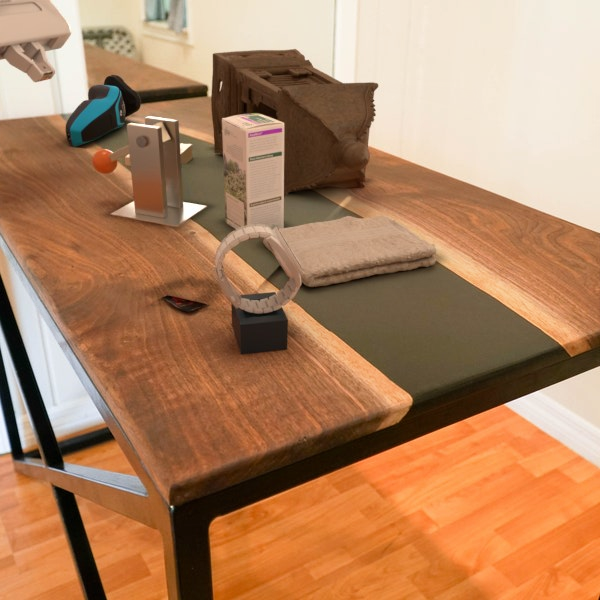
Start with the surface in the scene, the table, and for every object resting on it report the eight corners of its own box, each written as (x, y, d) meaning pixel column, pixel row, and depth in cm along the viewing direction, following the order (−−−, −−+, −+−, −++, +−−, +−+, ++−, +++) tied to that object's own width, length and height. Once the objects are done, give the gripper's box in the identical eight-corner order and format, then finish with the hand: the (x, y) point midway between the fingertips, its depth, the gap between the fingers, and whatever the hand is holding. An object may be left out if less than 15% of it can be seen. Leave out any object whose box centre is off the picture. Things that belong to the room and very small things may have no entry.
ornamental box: (400, 224, 96) (431, 94, 88) (293, 227, 87) (317, 84, 79) (292, 154, 122) (308, 50, 114) (202, 151, 114) (213, 39, 106)
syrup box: (285, 234, 84) (287, 120, 77) (245, 244, 81) (244, 126, 74) (261, 220, 88) (261, 111, 81) (223, 229, 85) (220, 116, 78)
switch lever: (95, 179, 87) (83, 157, 86) (109, 173, 90) (98, 151, 89) (161, 147, 81) (148, 123, 80) (174, 141, 84) (162, 117, 83)
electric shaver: (103, 114, 137) (149, 118, 136) (43, 159, 116) (96, 165, 115) (97, 71, 132) (145, 75, 131) (33, 111, 112) (88, 116, 110)
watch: (307, 346, 61) (312, 237, 56) (221, 356, 59) (217, 244, 54) (293, 317, 66) (296, 214, 61) (213, 325, 64) (209, 219, 59)
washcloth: (441, 266, 77) (445, 242, 76) (305, 294, 70) (306, 268, 69) (386, 230, 87) (389, 208, 85) (261, 251, 79) (261, 228, 78)
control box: (148, 154, 114) (146, 131, 112) (193, 157, 113) (191, 134, 111) (125, 171, 105) (123, 146, 103) (173, 175, 104) (172, 150, 102)
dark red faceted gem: (192, 315, 65) (192, 311, 65) (153, 302, 67) (152, 297, 67) (220, 297, 69) (220, 293, 69) (182, 284, 71) (182, 280, 71)
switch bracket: (111, 222, 86) (99, 124, 80) (144, 203, 93) (136, 111, 87) (177, 234, 83) (171, 134, 77) (207, 214, 90) (203, 119, 84)
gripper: (-88, -26, 74) (-1, 73, 76) (35, -30, 91) (103, 51, 93) (-108, 15, 77) (-24, 109, 79) (14, 4, 94) (81, 81, 96)
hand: (46, 77), depth 86 cm, fingers closed
